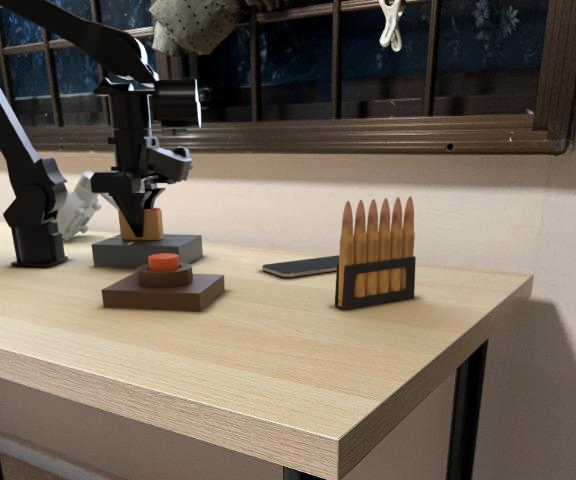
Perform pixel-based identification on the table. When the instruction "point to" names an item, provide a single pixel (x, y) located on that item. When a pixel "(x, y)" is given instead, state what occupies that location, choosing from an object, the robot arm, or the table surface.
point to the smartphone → (303, 266)
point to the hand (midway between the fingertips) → (142, 236)
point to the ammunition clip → (376, 256)
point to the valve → (79, 208)
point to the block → (151, 226)
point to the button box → (164, 290)
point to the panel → (145, 250)
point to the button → (163, 262)
